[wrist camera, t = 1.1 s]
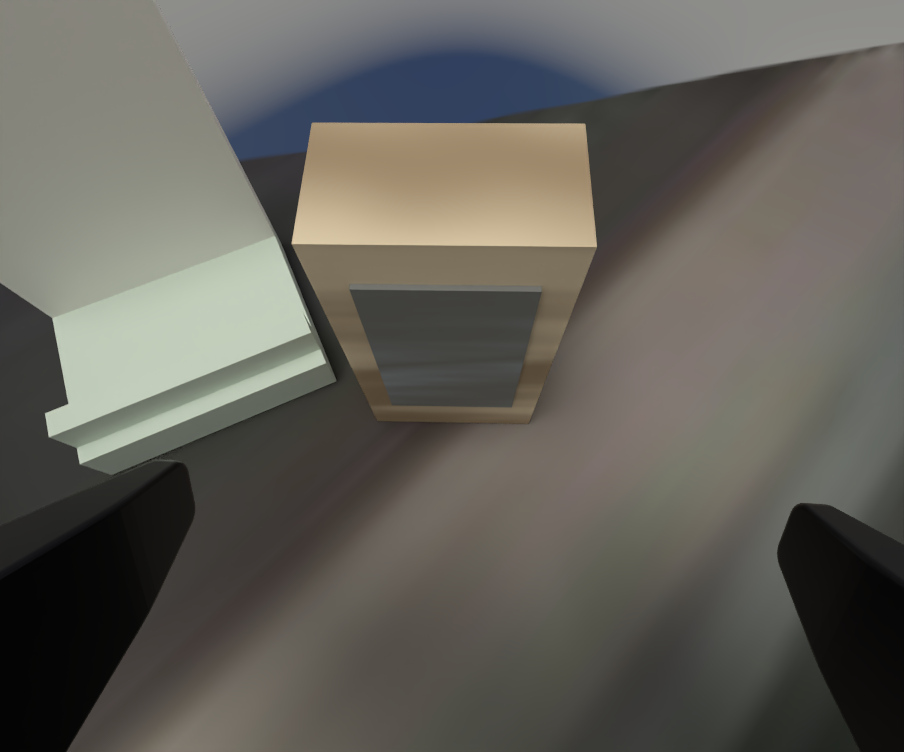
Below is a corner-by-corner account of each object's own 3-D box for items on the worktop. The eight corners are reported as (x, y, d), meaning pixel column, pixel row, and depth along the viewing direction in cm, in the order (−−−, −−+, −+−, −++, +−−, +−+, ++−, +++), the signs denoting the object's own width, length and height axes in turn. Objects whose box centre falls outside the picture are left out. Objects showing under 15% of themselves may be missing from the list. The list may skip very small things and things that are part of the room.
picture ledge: (336, 381, 24) (185, 122, 11) (112, 475, 22) (-378, 307, 9) (281, 243, 27) (108, -92, 14) (78, 318, 25) (-329, 23, 12)
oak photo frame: (528, 427, 23) (597, 253, 11) (377, 424, 23) (290, 250, 11) (526, 349, 24) (585, 123, 13) (383, 347, 24) (312, 123, 13)
